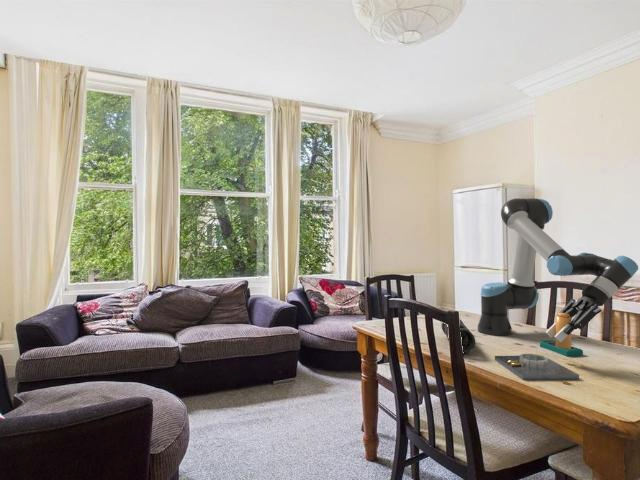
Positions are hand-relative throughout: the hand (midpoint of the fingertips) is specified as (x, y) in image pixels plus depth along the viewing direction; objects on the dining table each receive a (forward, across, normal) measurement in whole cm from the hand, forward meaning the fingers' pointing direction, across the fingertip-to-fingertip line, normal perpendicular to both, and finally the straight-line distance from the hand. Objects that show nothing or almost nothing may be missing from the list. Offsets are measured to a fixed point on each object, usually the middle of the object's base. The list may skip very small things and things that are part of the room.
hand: (553, 337), depth 138 cm
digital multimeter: (-1, +15, -16) cm, 22 cm away
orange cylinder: (0, 0, -5) cm, 5 cm away
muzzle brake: (+26, +24, +11) cm, 37 cm away
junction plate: (+14, -6, +1) cm, 15 cm away
